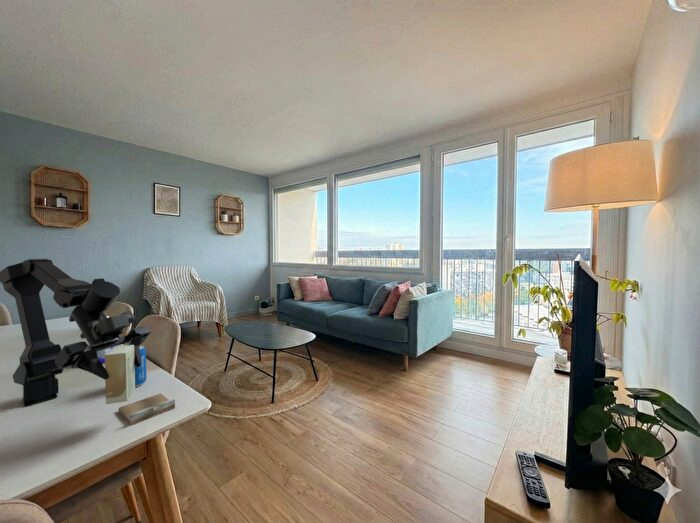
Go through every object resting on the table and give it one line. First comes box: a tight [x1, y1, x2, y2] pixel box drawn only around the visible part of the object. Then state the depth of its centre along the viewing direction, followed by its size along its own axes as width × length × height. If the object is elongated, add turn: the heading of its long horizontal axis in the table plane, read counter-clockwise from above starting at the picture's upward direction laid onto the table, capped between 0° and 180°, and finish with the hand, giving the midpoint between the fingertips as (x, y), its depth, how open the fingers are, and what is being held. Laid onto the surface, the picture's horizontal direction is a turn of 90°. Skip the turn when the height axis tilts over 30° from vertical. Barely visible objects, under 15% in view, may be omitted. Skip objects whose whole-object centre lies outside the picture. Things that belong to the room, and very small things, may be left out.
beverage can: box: [135, 344, 147, 388], centre depth 92 cm, size 6×6×12 cm
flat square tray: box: [118, 393, 176, 426], centre depth 78 cm, size 10×10×2 cm
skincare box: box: [104, 345, 136, 405], centre depth 71 cm, size 6×4×12 cm
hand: (124, 372), depth 71 cm, fingers closed on skincare box, 7 cm apart
